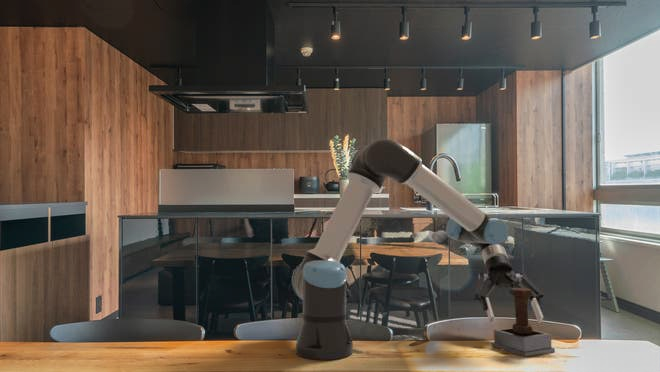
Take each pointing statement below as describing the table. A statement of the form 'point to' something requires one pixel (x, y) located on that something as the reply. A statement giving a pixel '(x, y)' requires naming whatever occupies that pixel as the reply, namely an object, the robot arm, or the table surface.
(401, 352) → the table surface
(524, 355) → the rectangular open box
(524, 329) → the brown flared column
